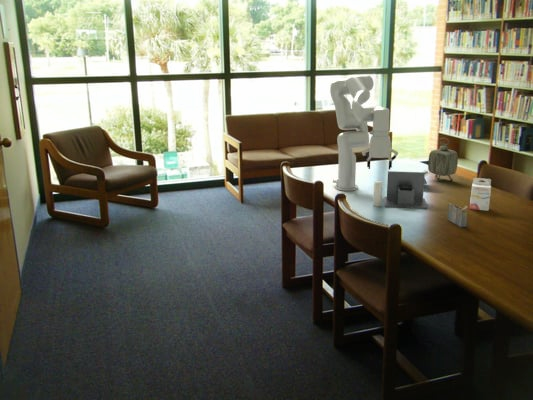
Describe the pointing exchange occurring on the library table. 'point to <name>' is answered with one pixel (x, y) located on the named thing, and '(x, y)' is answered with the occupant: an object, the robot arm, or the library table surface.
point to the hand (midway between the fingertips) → (379, 168)
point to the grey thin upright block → (457, 215)
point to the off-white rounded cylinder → (377, 193)
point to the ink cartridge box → (480, 194)
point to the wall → (426, 175)
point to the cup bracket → (405, 190)
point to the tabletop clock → (443, 161)
